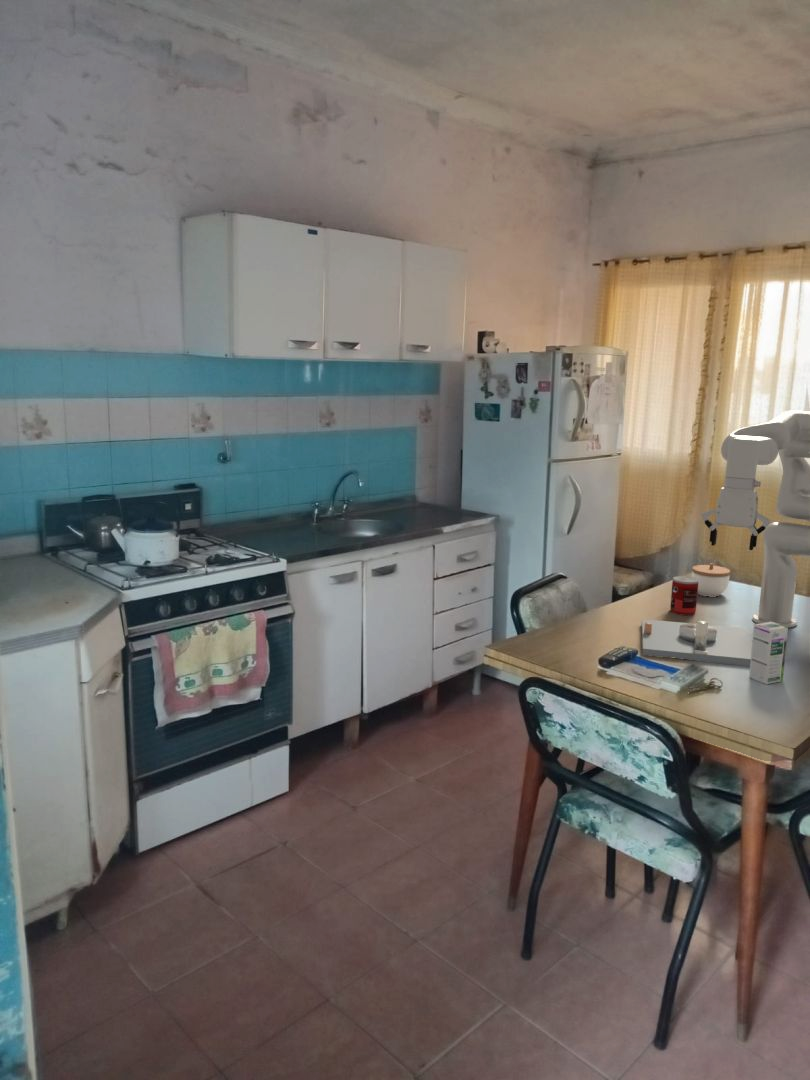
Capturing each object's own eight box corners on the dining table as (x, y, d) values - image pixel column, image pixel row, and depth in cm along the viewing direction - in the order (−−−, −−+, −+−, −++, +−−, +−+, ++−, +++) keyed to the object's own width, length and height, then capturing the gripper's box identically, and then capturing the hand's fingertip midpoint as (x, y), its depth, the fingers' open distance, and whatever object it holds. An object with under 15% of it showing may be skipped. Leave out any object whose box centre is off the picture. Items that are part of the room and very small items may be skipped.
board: (641, 625, 252) (642, 609, 251) (746, 634, 244) (748, 618, 243) (642, 655, 225) (643, 638, 224) (760, 667, 218) (762, 649, 217)
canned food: (674, 606, 272) (677, 574, 269) (698, 611, 267) (701, 578, 265) (666, 612, 266) (669, 579, 263) (691, 616, 261) (694, 583, 259)
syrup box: (766, 685, 205) (772, 629, 202) (747, 677, 211) (753, 622, 208) (783, 681, 208) (789, 627, 205) (764, 673, 213) (770, 620, 210)
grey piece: (678, 630, 240) (680, 605, 239) (714, 633, 238) (716, 608, 236) (681, 648, 225) (683, 622, 223) (720, 652, 222) (722, 625, 221)
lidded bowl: (684, 594, 287) (686, 563, 284) (697, 587, 296) (700, 557, 294) (720, 601, 279) (723, 569, 276) (733, 594, 288) (736, 563, 286)
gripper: (775, 486, 219) (768, 549, 222) (707, 480, 227) (701, 541, 230) (772, 488, 212) (765, 553, 215) (703, 482, 220) (696, 545, 223)
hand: (732, 547), depth 223 cm, fingers open, 9 cm apart
